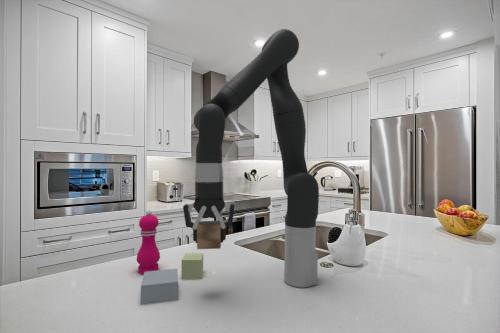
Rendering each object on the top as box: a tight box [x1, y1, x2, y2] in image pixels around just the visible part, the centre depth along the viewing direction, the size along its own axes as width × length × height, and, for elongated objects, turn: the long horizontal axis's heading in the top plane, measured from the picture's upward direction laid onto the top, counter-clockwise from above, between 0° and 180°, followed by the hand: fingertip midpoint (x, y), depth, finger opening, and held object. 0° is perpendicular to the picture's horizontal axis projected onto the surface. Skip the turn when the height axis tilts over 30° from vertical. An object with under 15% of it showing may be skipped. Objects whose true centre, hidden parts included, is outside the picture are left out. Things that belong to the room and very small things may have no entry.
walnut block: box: [196, 220, 222, 250], centre depth 72 cm, size 6×6×6 cm
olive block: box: [180, 252, 204, 280], centre depth 85 cm, size 6×6×6 cm
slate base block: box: [140, 268, 179, 305], centre depth 72 cm, size 9×9×5 cm
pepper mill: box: [136, 209, 161, 275], centre depth 88 cm, size 7×7×20 cm
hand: (209, 241), depth 72 cm, fingers closed on walnut block, 6 cm apart
